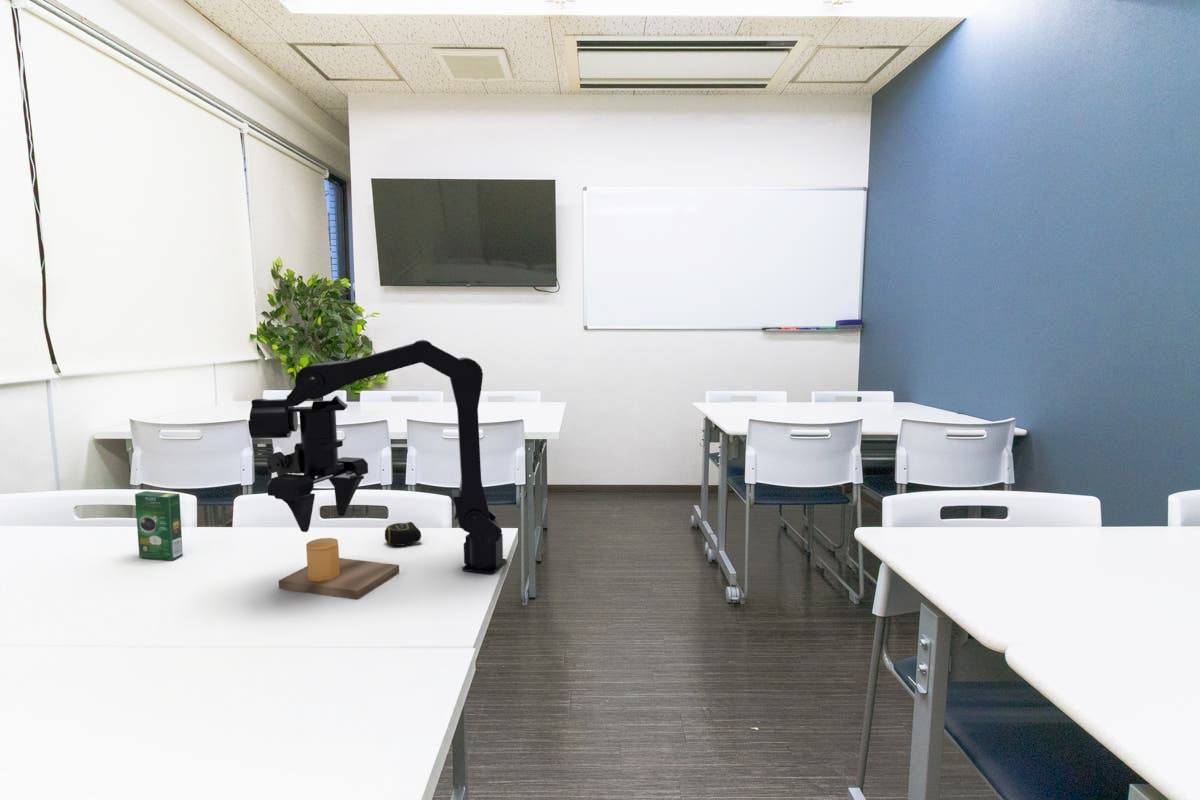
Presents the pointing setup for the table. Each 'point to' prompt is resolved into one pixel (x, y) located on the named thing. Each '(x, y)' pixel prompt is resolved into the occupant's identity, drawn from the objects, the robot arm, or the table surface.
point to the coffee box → (159, 525)
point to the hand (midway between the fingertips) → (323, 523)
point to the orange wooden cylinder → (322, 559)
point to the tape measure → (402, 533)
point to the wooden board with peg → (343, 579)
